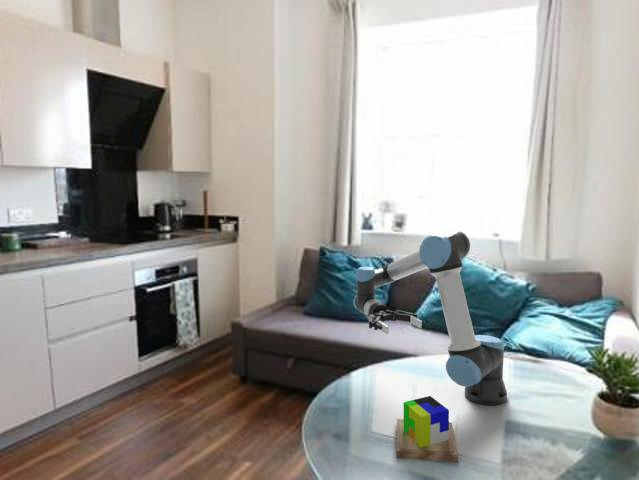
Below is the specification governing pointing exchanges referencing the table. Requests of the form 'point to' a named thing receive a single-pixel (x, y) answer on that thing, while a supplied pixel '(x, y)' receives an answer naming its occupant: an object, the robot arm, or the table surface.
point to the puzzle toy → (426, 421)
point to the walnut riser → (426, 447)
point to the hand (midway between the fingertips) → (404, 327)
